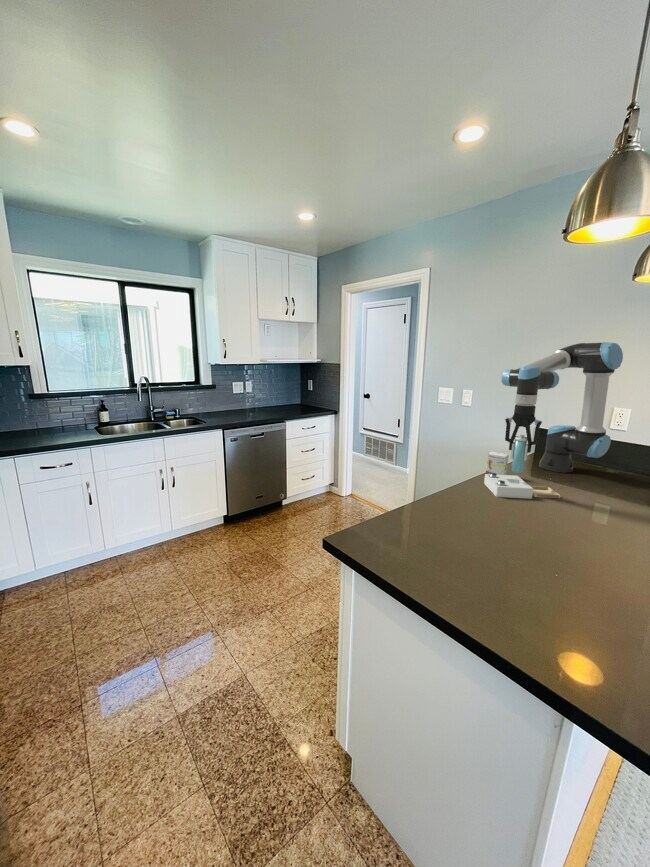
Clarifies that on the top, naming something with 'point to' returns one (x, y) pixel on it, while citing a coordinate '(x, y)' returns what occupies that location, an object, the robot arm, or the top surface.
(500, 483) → the plunger
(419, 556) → the top surface
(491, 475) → the plunger
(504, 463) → the ink box
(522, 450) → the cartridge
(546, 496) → the tray
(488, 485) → the housing
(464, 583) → the top surface
